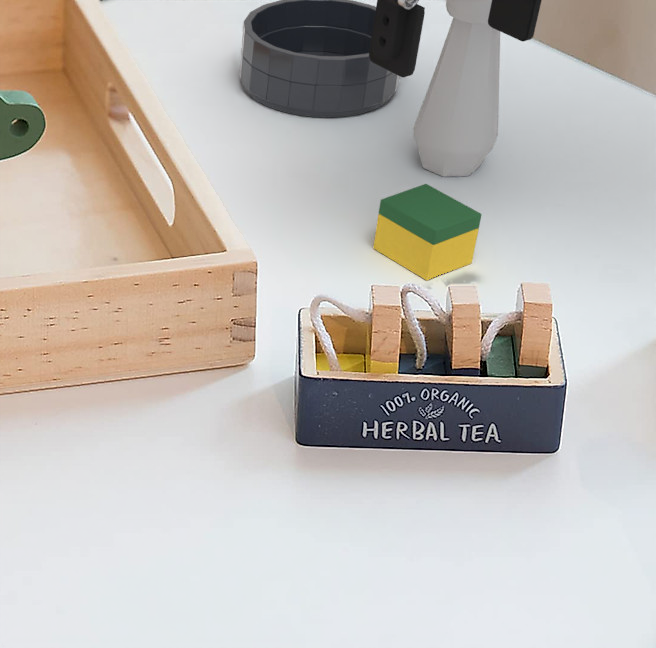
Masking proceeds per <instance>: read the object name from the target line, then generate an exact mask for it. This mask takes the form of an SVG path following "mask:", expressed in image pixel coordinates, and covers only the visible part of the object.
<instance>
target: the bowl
mask: <svg viewBox="0 0 656 648" xmlns="http://www.w3.org/2000/svg"><path fill="white" fill-rule="evenodd" d="M375 12H376V6H375V5H372V4H368V3H366V2H365V3H364V2H361V1H357V0H276V1H272V2H268V3H265V4H262V5H260V6H258V7H257V8H255V9H253V10H250V12H249V13H248V14H247V16H246V17H245V18H244V20H243V25H242V34H241V35H242V36H241V48H240V60H239V79H240V82H241V84H242V86H243V88H244V90H245V92H246V93H247V94H248V95H249V97H250V98H252V99H253V100H254V101H256V102H258V103H260V104H262V105H264V106H266V107H268V108H270V109H273V110H276V111H280V112H283V113H287V114H292V115H296V116H303V117H312V118H343V117H351V116H358V115H362V114H365V113H369V112H372V111H375V110H377V109H379V108H381V107H383V106H384V105H385V104H387V103H388V102H389V101H390V100H391V98H392V96H394V95H395V94H396V92H397V89H398V88H399V85H400V82H401V77H400V76H398V75H396V74H394V73H392V72H390V71H388V70H386V69H384V68H382V67H380V66H378V65H377V64H375V63H373V62H371V60H370V58H369V51H370V44H371V38H372V31H373V25H374V18H375Z"/></svg>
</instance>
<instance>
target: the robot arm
mask: <svg viewBox="0 0 656 648" xmlns="http://www.w3.org/2000/svg"><path fill="white" fill-rule="evenodd" d="M419 1H420V0H376V6H375V7H376V12H375V18H374V25H373V31H372V38H371V44H370V51H369V58H370V60H371V62H373V63H375V64H377V65H378V66H380V67H382V68H384V69H386V70H388V71H390V72H392V73H394V74H396V75H398V76H400V78H406V77H411V76H412V75H414V72H415V70H416V66H417V60H418V54H419V48H420V43H421V37H422V33H423V32H422V31H423V25H424V18H425V15H426V13H425V11H426V10H425V9H426V8H425V6H422V5H420V4H419V3H418V2H419ZM541 4H542V0H492V3H491V8H490V12H489V17H488V24H489V26H490V27H492V28H494V29H496V30H498V31H500V33H503V34H505V35H507V36H509V37H511V38H513V39H516V40H517V41H520V42H528V41H530V40H532V39H533V38H534V35H535V31H536V26H537V22H538V17H539V14H540V9H541Z"/></svg>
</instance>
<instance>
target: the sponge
mask: <svg viewBox="0 0 656 648" xmlns="http://www.w3.org/2000/svg"><path fill="white" fill-rule="evenodd" d="M481 220H482V213H481V212H479V211H477V210H476V209H474V208H472V207H470V206H468V205H466V204H464V203H463V202H461V201H459V200H457V199H455V198H453V197H451V196H450V195H448V194H446V193H444V192H442V191H440V190H439V189H437V188H435V187H434V186H431V185H430V184H428V183H424V184H421V185H419V186H416V187H412V188H409V189H407V190H404V191H401V192H397V193H396V194H393V195H390V196H386V197H384V198H381V199H380V202H379V208H378V215H377V222H376V228H375V234H374V240H373V248H372V249H373V250H375V251H377V252H378V253H380V254H382V255H383V256H385V257H386V258H388V259H389V260H391V261H393V262H395V263H397V264H399V265H400V266H401V267H404V268H405V269H407V270H409V271H410V272H412V273H414V274H415V275H417V276H419V277H420V278H422V279H424V280H425V281H430V280H432V279H434V278H433V277H435V278H437V277H440V276H442V275H441V274H443V275H445V274H448V273H450V272H453V271H456V270H458V269H461V268H463V267H465V266H466V267H467V266H469V265H470V264H473V261H474V260H473V259H474V254H475V249H476V244H477V239H478V234H479V231H480V230H479V228H480V224H481ZM452 270H453V271H452ZM447 272H448V273H447ZM444 273H445V274H444ZM438 275H439V276H438ZM436 276H437V277H436ZM431 278H432V279H431ZM429 279H430V280H429Z"/></svg>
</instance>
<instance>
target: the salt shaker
mask: <svg viewBox="0 0 656 648" xmlns="http://www.w3.org/2000/svg"><path fill="white" fill-rule="evenodd" d="M491 3H492V0H445V8H446V12H447V13H448V16H450V17H452V20H451V23H450V26H449V30H448V32H447V34H446V38H445V40H444V43H443V46H442V49H441V52H440V54H439V57H438V59H437V63H436V66H435V68H434V71H433V75H432V77H431V80H430V83H429V85H428V88H427V90H426V94H425V95H424V98H423V101H422V104H421V105H420V106H421V107H420V109H419V112H418V115H417V117H416V120H415V122H414V125H413V127H412V137H413V139H414V143H415V145H416V147H417V150H418V154H419V158H420V162H421V167H422V168H423V169H425V170H427V171H429V172H432V173H434V174H436V175H438V176H441V177H445V178H446V177H470V176H471V175H472V174H473V173H474V172H475V171H476V170H478V168H480V166H481V165H482V163H483V162H484V160H485V159H486V157H488V155H489V153H490V152H491V151H492V150H493V148H494V146H495V145H496V144H495V143H496V141H497V139H498V136H499V111H500V110H499V108H500V106H499V105H500V104H499V103H500V62H501V61H500V60H501V58H500V57H501V32H500V31H498V30H496V29H494V28H492V27H490V26H489V24H488V17H489V12H490V8H491Z"/></svg>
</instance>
